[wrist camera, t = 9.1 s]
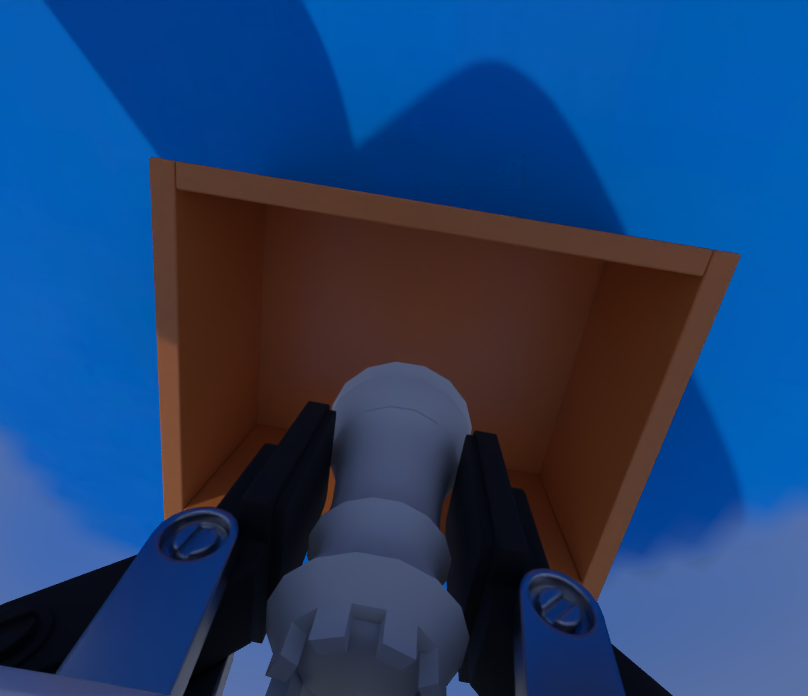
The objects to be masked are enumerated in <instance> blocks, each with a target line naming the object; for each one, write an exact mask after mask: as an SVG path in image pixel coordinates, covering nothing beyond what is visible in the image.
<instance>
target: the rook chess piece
mask: <svg viewBox="0 0 808 696" xmlns="http://www.w3.org/2000/svg"><path fill="white" fill-rule="evenodd" d="M332 410H333V411H336V422H335V431H334V440H333V448H332V457H331V466H330V467H331V470H332V472H333V475H334V478H335V481H336V482H335V488H334V494H333V500H332V504H331V507H330V510H329V511H328V512H326V513H325V514H323V515H322V516H321V517H320V519H319V520H318V522H317V523H316V525H315V526H314V528H313V529H312V531H311V532H310V534H309V542H308V554H307V557H308V560H309V562H307V563H305V564H303V565H302V566H300V567H298V568H296V569H295V570H293V571H291V572H289V573H288V574H286V575H284V576H283V578H282V579H281V581H280V582H279V584H278V585H277V587H276V589H275V590H274V592H273V593H272V595H271V596H270V598H269V599H268V601H267V613H266V633H267V636H268V639H269V643H270V646H271V649H272V652H273V656H272V659H271V661H270V664H269V667H268V670H267V672H266V676H268V677H271V678H272V679H271V682H270V684H269V687H268V690H267V693H266V696H446V686H447V685H448V683H449V682H450V681H451V680H452V678H453V677H454V676H455V674H456V673H457V672H458V670H459V669H460V668H461V666H462V664H463V660H464V657H465V653H466V649H467V646H468V642H469V638H470V637H469V633H468V630H467V626H466V623H465V619H464V615H463V612H462V608H461V606H460V605H459V604H458V603H457V602H456V600H455V599H454V598H453V597H452V596H451V595H450V594H449V593H448V591H447V590H446V589H445V588H444V587H443V586H442V585H443V584H444V583H445V582H446V580H447V576H448V572H449V567H450V563H451V556H450V552H449V549H448V545H447V541H446V538H445V536H444V534H443V533H442V532H441V531H440V518H441V513H442V507H443V501H444V500H445V498H446V497H447V496H448V494H449V493H450V492H451V491H452V489H453V487H454V483H455V479H456V474H457V470H458V466H459V462H460V457H461V453H462V449H463V445H464V440H465V437H466V435H467V434H469V435H471V430H472V426H471V421H470V417H469V413H468V408H467V404H466V402H465V400H464V399H463V398H462V397H461V395H460V394H459V393H458V391H457V390H456V389H455V387H454V386H453V385H452V383H451V382H450V381H449V380H447V379H446V378H444V377H442V376H440V375H439V374H437V373H435V372H434V371H432V370H430V369H428V368H427V367H425V366H420V365H413V364H407V363H401V362H392V363H387V364H383V365H378V366H373V367H369V368H367V369H365V370H364V371H362V372H361V373H359V374H358V375H357V376H355V377H354V378H352V379H351V380H349V381H348V382H346V383H345V385H344V387H343V388H342V390H341V392H340V393H339V395H338V397H337V398H336V400H335V402H334V403H333V405H332Z"/></svg>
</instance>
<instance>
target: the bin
mask: <svg viewBox="0 0 808 696" xmlns="http://www.w3.org/2000/svg"><path fill="white" fill-rule="evenodd" d="M149 164H150V188H151V212H152V236H153V259H154V283H155V307H156V331H157V354H158V378H159V402H160V426H161V449H162V473H163V497H164V520H166V519H168V518H169V517H171V516H172V515H174V514H177V513H179V512H182V511H184V510H187V509H192V508H196V507H215V508H216V507H217V506H218V504H219V503H220V502H221V500H222V499H223V498H224V496H225V495H226V494H227V492H228V491H229V490H230V488H231V487H232V486H233V484H234V483H235V482H236V480H237V479H238V478H239V476H240V475H241V474H242V473H243V471H244V470H245V469H246V467H247V466H248V465H249V463H250V462H251V461H252V459H253V458H254V457H255V455H256V454H257V453H258V451H259V450H260V449H261V447H262V446H263V445H264V444H266V443H270V444H275V445H278V444H279V443H280V441H281V440H282V438H283V437H284V435H285V434H286V433H287V431H288V430H289V428H290V427H291V425H292V424H293V422H294V421H295V420H296V418H297V417H298V415H299V414H300V412H301V411H302V409H303V408H304V407H305V405H306V404H307V402H308V401H313V402H319V403H324V404H329V405H330V410H332V405H333V403H334V402H335V400H336V398H337V397H338V395H339V393H340V392H341V390H342V388H343V387H344V385H345V383H346V382H348V381H349V380H351V379H352V378H354V377H355V376H357V375H358V374H359V373H361V372H362V371H364V370H365V369H367V368H369V367H373V366H378V365H383V364H387V363H392V362H401V363H407V364H413V365H420V366H425V367H427V368H428V369H430V370H432V371H434V372H435V373H437V374H439V375H440V376H442V377H444V378H446V379H447V380H449V381H450V382H451V383H452V385H453V386H454V387H455V389H456V390H457V391H458V393H459V394H460V395H461V397H462V398H463V399H464V400H465V402H466V404H467V408H468V413H469V417H470V421H471V426H472V430H471V435H473V433H474V431H475V430H477V431H482V432H488V433H494V434H496V435H497V437H498V441H499V444H500V448H501V452H502V455H503V459H504V462H505V466H506V470H507V473H508V477H509V480H510V484H511V487H514V488H520V489H523V490H524V492H525V494H526V496H527V499H528V503H529V506H530V509H531V512H532V515H533V518H534V521H535V524H536V527H537V530H538V533H539V537H540V540H541V543H542V546H543V549H544V552H545V555H546V558H547V561H548V564H549V567H550V569H552V570H556V571H559V572H561V573H564V574H566V575H568V576H570V577H571V578H573V579H574V580H576V581H577V582H579V583H580V584H581V585H582V586H583V587H584V588H585V589H587V590H588V591H589V592H590V593H591V595H592V596H593V597H594V599H595V600H596V601H597V600H598V597H599V595H600V592H601V590H602V588H603V585H604V583H605V580H606V578H607V576H608V573H609V571H610V568H611V566H612V564H613V561H614V559H615V556H616V554H617V552H618V549H619V547H620V544H621V542H622V540H623V537H624V535H625V532H626V530H627V528H628V525H629V523H630V520H631V518H632V516H633V513H634V511H635V508H636V506H637V504H638V501H639V499H640V497H641V494H642V492H643V489H644V487H645V485H646V482H647V480H648V477H649V475H650V473H651V470H652V468H653V465H654V463H655V461H656V458H657V456H658V453H659V451H660V449H661V446H662V444H663V441H664V439H665V437H666V434H667V432H668V429H669V427H670V425H671V422H672V420H673V417H674V415H675V413H676V410H677V408H678V405H679V403H680V401H681V398H682V396H683V393H684V391H685V389H686V386H687V384H688V381H689V379H690V377H691V374H692V372H693V369H694V367H695V365H696V362H697V360H698V357H699V355H700V353H701V350H702V348H703V345H704V343H705V341H706V338H707V336H708V333H709V331H710V329H711V326H712V324H713V321H714V319H715V317H716V314H717V312H718V309H719V307H720V305H721V302H722V300H723V297H724V295H725V293H726V290H727V288H728V286H729V283H730V281H731V278H732V276H733V274H734V271H735V269H736V266H737V264H738V262H739V259H740V257H741V255H740V254H737V253H731V252H725V251H719V250H712V249H707V248H701V247H695V246H689V245H683V244H677V243H671V242H665V241H658V240H652V239H646V238H640V237H634V236H628V235H622V234H616V233H610V232H604V231H598V230H592V229H586V228H580V227H574V226H568V225H561V224H555V223H549V222H543V221H537V220H531V219H525V218H519V217H513V216H507V215H501V214H495V213H489V212H483V211H477V210H471V209H464V208H458V207H452V206H446V205H440V204H434V203H428V202H422V201H416V200H410V199H404V198H398V197H392V196H386V195H380V194H374V193H367V192H361V191H355V190H349V189H343V188H337V187H331V186H325V185H319V184H313V183H307V182H301V181H295V180H289V179H283V178H277V177H270V176H264V175H258V174H252V173H246V172H240V171H234V170H228V169H222V168H216V167H210V166H204V165H198V164H192V163H186V162H180V161H173V160H167V159H161V158H155V157H150V159H149ZM335 482H336V481H335V478H334V475H333V472H332V470H331V467H330V474H329V483H328V492H327V498H326V502H325V506H324V509H323V511H322V514H321V516H322V515H323V514H325V513H326V512H328V511H329V510H330V507H331V504H332V500H333V494H334V488H335ZM452 491H453V489H452ZM452 491H451V492H450V493H449V494H448V496H447V497H446V498H445V500H444V501H443V507H442V513H441V518H440V531H441V532H442V533H443V534H444V536H445V526H446V517H447V513H448V508H449V504H450V500H451V496H452ZM445 538H446V537H445Z"/></svg>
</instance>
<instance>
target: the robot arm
mask: <svg viewBox="0 0 808 696" xmlns="http://www.w3.org/2000/svg"><path fill="white" fill-rule="evenodd" d="M335 422H336V411H333V410H330V405H329V404H324V403H319V402H313V401H308V402H307V404H306V405H305V407H304V408H303V409H302V411H301V412H300V414H299V415H298V417H297V418H296V420H295V421H294V422H293V424H292V425H291V427H290V428H289V430H288V431H287V433H286V434H285V435H284V437H283V438H282V440H281V441H280V443H279V444H278V445H275V444H270V443H266V444H264V445H263V446H262V447H261V449H260V450H259V451H258V453H257V454H256V455H255V457H254V458H253V459H252V461H251V462H250V463H249V465H248V466H247V467H246V469H245V470H244V471H243V473H242V474H241V475H240V476H239V478H238V479H237V480H236V482H235V483H234V484H233V486H232V487H231V488H230V490H229V491H228V492H227V494H226V495H225V496H224V498H223V499H222V500H221V502H220V503H219V504H218V506H217V507H216V508H215V507H196V508H192V509H187V510H184V511H182V512H179V513H177V514H174V515H172V516H171V517H169V518H168V519H166V520H165V521H163V522H162V523H161V524H160V525H159V526H158V527H157V528H156V529H155V530H154V531H153V533H152V534H151V536H150V537H149V539H148V540H147V542H146V543H145V544H144V546H143V547H142V549H141V550H140V552H139V553H138V555H135V556H132V557H129V558H127V559H124V560H121V561H118V562H116V563H113V564H111V565H108V566H105V567H102V568H100V569H97V570H94V571H91V572H89V573H86V574H83V575H80V576H78V577H75V578H72V579H69V580H67V581H64V582H61V583H59V584H56V585H53V586H51V587H48V588H45V589H42V590H40V591H37V592H34V593H32V594H29V595H26V596H23V597H21V598H18V599H15V600H12V601H10V602H7V603H4V604H2V605H0V696H222V693H223V690H224V687H225V684H226V681H227V678H228V674H229V671H230V668H231V665H232V662H233V657H234V652H236V651H237V650H239V649H241V648H243V647H244V646H246V645H248V644H250V643H251V641H252V642H257V643H262V642H263V640H264V637H265V635H266V613H267V601H268V599H269V598H270V596H271V595H272V593H273V592H274V590H275V589H276V587H277V585H278V584H279V582H280V581H281V579H282V578H283V576H284V575H286V574H288V573H289V572H291V571H293V570H295V569H296V568H298V567H300V566H302V563H303V561H304V558H305V556H306V553H307V550H308V542H309V534H310V532H311V531H312V529H313V528H314V526H315V525H316V523H317V522H318V520H319V519H320V517H321V514H322V511H323V509H324V506H325V502H326V498H327V492H328V483H329V474H330V466H331V457H332V448H333V440H334V431H335ZM445 537H446V541H447V545H448V549H449V552H450V556H451V563H450V567H449V572H448V576H447V591H448V593H449V594H450V595H451V596H452V597H453V598H454V599H455V600H456V602H457V603H458V604H459V605H460V606H461V608H462V612H463V615H464V619H465V623H466V626H467V630H468V633H469V637H470V638H469V642H468V646H467V649H466V653H465V657H464V660H463V664H462V666H461V668H460V669H459V670H458V673H459V681H461V682H466V683H470V685H471V687H472V688H473V689H474V690H475V691H476V692H477V694H478V695H479V696H672V695H671V694H670V693H669V692H668V691H666V690H665V689H664V688H663V687H662V686H661V685H660V684H658V683H657V682H656V681H655V680H654V679H652V678H651V677H650V676H649V675H647V673H645V672H644V671H643V670H641V668H639V667H638V666H637V665H636V664H635V663H634V662H632V661H631V660H630V659H629V658H628V657H626V656H625V655H624V654H623V653H622V652H621V651H619V650H618V649H617V648H616V647H615V646H613V645H612V644H611V642H610V638H609V634H608V631H607V628H606V624H605V620H604V616H603V614H602V611H601V609H600V607H599V605H598V603H597V602H596V600H595V599H594V597H593V596H592V595H591V593H590V592H589V591H588V590H587V589H585V588H584V587H583V586H582V585H581V584H580V583H579V582H577V581H576V580H574V579H573V578H571V577H570V576H568V575H566V574H564V573H561V572H559V571H556V570H552V569H550V567H549V564H548V561H547V558H546V555H545V552H544V549H543V546H542V543H541V540H540V537H539V533H538V530H537V527H536V524H535V521H534V518H533V515H532V512H531V509H530V506H529V503H528V499H527V496H526V494H525V492H524V490H523V489H520V488H514V487H511V484H510V480H509V477H508V473H507V470H506V466H505V462H504V459H503V455H502V452H501V448H500V444H499V441H498V437H497V435H496V434H494V433H488V432H482V431H477V430H475V431H474V433H473V435H469V434H467V435H466V437H465V440H464V445H463V449H462V453H461V457H460V462H459V466H458V470H457V474H456V479H455V483H454V487H453V491H452V496H451V500H450V504H449V508H448V513H447V517H446V526H445Z"/></svg>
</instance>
